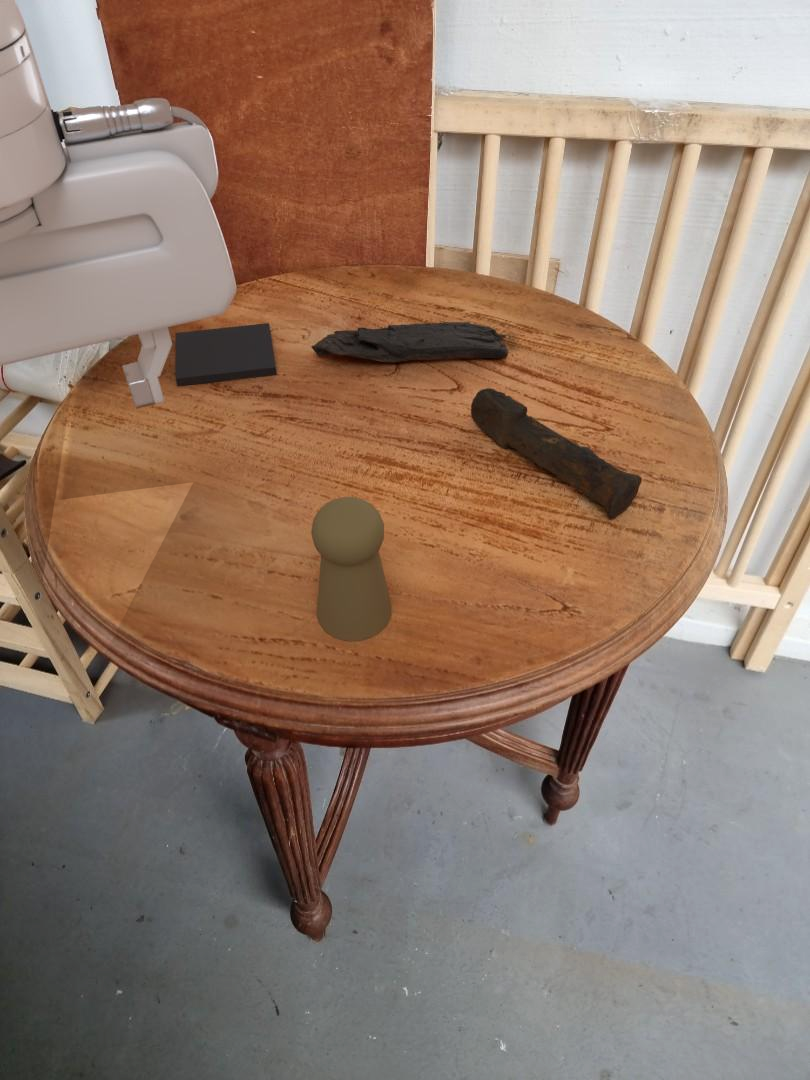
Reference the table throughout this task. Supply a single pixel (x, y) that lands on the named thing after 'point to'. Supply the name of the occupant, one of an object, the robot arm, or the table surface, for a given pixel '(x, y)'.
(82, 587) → the table surface
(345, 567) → the olive pawn
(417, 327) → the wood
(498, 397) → the hand tool
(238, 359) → the mat
